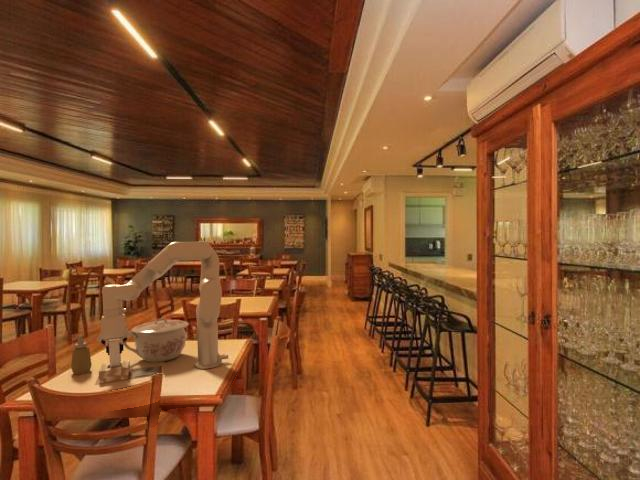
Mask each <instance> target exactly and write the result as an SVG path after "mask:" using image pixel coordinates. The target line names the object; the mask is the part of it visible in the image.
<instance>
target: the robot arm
mask: <svg viewBox="0 0 640 480" xmlns="http://www.w3.org/2000/svg"><path fill="white" fill-rule="evenodd" d="M178 261H179V262H180V261H200V264H201V265H200V266H201V268H200V269H201V270H200V280H199V287H198V289H199V294H200V295H199V302H198V303H197V305H196V310H195V315H196V331H197V332H196V333H197V335H196V336H197V338H196V339H197V340H196V341H197V361H196V362H195V363H194V367H195V368H196V369H199V370H202V369H203V370H206V369H213V368H217V367H220V366H221V365H222V364H223V360H228V359H229V354H226V353H224V354H220V353H219V338H218V337H219V334H218V332H219V329H218V319H219V316H220V314H221V313H220V312H221V302H222V295H223V294H222V292H223V290H222V285H221V283H220V265H221V264H220V259H219V255H218V254H217V252H216V250H215V249H214V248H213V247H212V246H211V245H210V243H208V242H207V241H203V240H199V241H172V242H171V243H169V244H167V245H166V246H165V247H164V248H163V249H162V250H161V251H160V252H159V253H157V254H156V256H154V257H153V258H152V259H150V261H148V262H147V264H145V265H144V267H143V268H142V269H141V270H140V271H139V272H137V274H135V275H134V276H133V277H132V278H131V279H130V280H128V282H127V283H125V284H121V285H120V284H118V283H114V284H113V283H111V284H106V285H103V286H102V289H101V291H102V308H103V309H102V310H103V312H102V313H103V315H102V316H101V319H100V333H99V335H98V336H97V338H96V339H95V341H97V342H98V343H101V344H102V345H104V346H105V353H106V354H107V356H109V341H110V340H114V339H119V340H120V345H119V346H120V354H121V355H122V354H123V352H124V351H125V350H124V345H123V343H124V342H125V341H126V342H127V340H129V339H130V338H131V337H132V336H133V335H132V334H131V333H130V332H131V331H130V330H128V324H127V319H126V314H125V313H126V312H127V308H123V301H134V300H136V299H138V298H139V297H140V295H141V293H142V292H143V291H144V290H145V289H147V288H148V287H149V286H150V285H151V284H152V283H153V282H154V281H155V280H157V279H159V278H161V277H162V276H163V275H165V274H166V273H167V272H168V271H169V270H170V269H172V267H173V266H175V265H176V264H177V263H179V262H178ZM129 331H130V332H129ZM126 334H127V336H126ZM125 336H126V337H125ZM123 337H125V338H124V339H123Z"/></svg>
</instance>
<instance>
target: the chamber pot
mask: <svg viewBox="0 0 640 480" xmlns="http://www.w3.org/2000/svg"><path fill="white" fill-rule="evenodd" d="M189 325H190V324H189V322H188V321H185V320H180V319H167V318H163V317H160V318H158V319H156V320H155V321H150V322H148V321H147V322H145V323H141V324H138V325H136V326H134V327H132V328H131V330H128V331H129V332H130V333H131V334H132V336H133V340H134V341H133V342H134V345H135V348H133V347H131V346H130V345H128V343H127V340H126V341H125V342H124V343H123V347H125V348H126V349H127V350H128V351H130V352H133V353H134V354H136V355H137V356H138V357H140V358H141V359H142V360H143V361H145V362H148V363H149V362H150V363H157V362H158V363H159V362H163V363H164V362H168V361H171V360H174V359H176V358H177V357H179V356H180V355H181V353H182V351H183V350H184V349H185V347H186V341H187V331H186V330H185V328H187V327H188V326H189ZM126 336H127V334H126ZM126 336H125V337H126ZM125 337H123V339H124V338H125Z"/></svg>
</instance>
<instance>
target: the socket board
mask: <svg viewBox="0 0 640 480" xmlns="http://www.w3.org/2000/svg"><path fill="white" fill-rule="evenodd" d="M130 365H131V361H130V360H129V359H128V360H121V367H115V368H110V362H105V363H102V364H101V365H100V368H99V369H98V370H99V371H98V377H97V379H96V381H95V383H94V386H97V385H104V384H110V383H116V382H117V383H118V382H123V381H128V380H136V379H141V378H148V377H153V376H152V375H154V374H157V373H162V369H163V368H162V365H155V366H150V367H148V366H147V367H144V368H141V367H140V368H136V369H135V368H134V369H131V367H130ZM162 374H163V373H162Z"/></svg>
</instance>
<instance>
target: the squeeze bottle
mask: <svg viewBox="0 0 640 480" xmlns="http://www.w3.org/2000/svg"><path fill="white" fill-rule="evenodd" d="M87 345H88V344H87V342H86V341H84V339H83V335H78V339H77V342H76V343H75V344H74V348H73V349H72V351H71V366H70V369H71V371H72V374H73V375H74V376H75V375H76V376H80V375H86V374H87V373H90V371H91V368H92V364H93V363H92V358H91V353H90V352H91V351H90V347H89V346H87Z"/></svg>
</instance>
